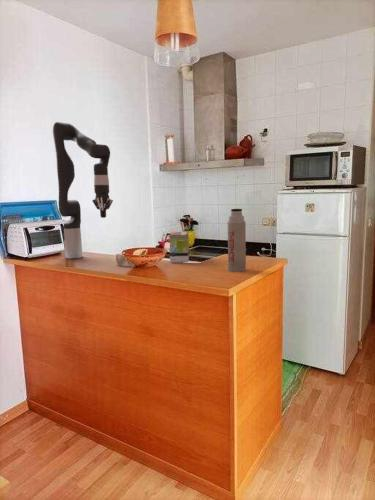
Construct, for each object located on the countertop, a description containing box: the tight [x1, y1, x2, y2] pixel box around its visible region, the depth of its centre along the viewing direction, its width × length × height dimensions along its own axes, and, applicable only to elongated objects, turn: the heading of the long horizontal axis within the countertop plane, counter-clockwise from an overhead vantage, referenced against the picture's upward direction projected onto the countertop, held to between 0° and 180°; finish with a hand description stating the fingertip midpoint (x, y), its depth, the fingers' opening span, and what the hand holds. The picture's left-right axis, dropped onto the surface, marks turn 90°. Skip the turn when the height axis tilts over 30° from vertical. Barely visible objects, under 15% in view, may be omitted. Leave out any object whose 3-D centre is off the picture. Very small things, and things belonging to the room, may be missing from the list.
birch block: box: [115, 251, 135, 267], centre depth 191 cm, size 6×6×12 cm
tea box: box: [168, 231, 190, 264], centre depth 198 cm, size 15×10×15 cm, turn 179°
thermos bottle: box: [227, 208, 247, 273], centre depth 169 cm, size 8×8×28 cm
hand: (103, 217), depth 196 cm, fingers closed
